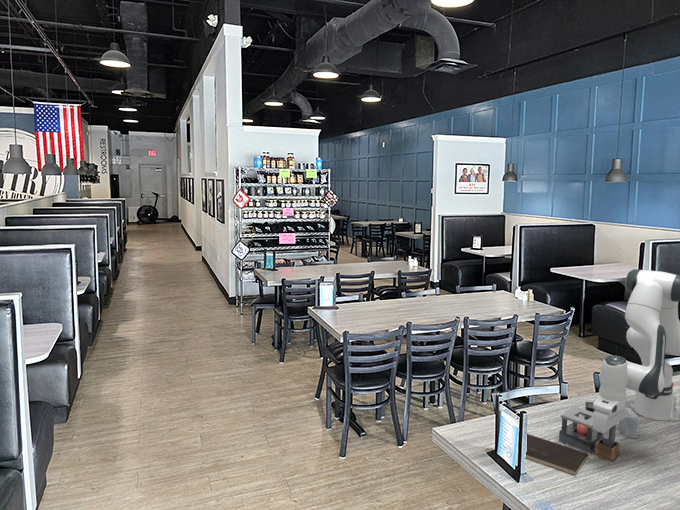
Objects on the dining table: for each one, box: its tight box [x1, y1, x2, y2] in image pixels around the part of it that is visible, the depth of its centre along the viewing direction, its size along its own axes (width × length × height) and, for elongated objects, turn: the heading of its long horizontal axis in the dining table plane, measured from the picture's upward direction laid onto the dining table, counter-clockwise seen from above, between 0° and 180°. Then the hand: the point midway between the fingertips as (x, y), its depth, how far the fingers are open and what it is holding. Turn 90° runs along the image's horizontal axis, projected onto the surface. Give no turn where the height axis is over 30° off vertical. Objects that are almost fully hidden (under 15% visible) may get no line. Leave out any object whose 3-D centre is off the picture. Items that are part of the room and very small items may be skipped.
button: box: [577, 424, 587, 436], centre depth 198 cm, size 4×4×5 cm
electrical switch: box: [583, 400, 595, 420], centre depth 213 cm, size 9×5×9 cm, turn 64°
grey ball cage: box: [558, 405, 603, 454], centre depth 197 cm, size 12×12×11 cm
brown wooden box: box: [594, 438, 621, 463], centre depth 188 cm, size 6×6×5 cm
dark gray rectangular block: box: [603, 426, 617, 448], centre depth 187 cm, size 3×3×10 cm
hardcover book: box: [526, 433, 589, 476], centre depth 188 cm, size 16×23×2 cm
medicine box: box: [618, 408, 639, 439], centre depth 204 cm, size 8×4×9 cm, turn 168°
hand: (608, 436), depth 187 cm, fingers closed on dark gray rectangular block, 3 cm apart
